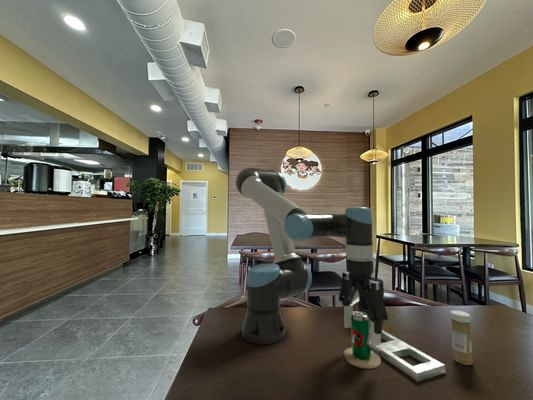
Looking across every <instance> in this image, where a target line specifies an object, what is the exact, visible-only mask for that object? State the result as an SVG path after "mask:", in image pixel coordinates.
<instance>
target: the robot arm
mask: <svg viewBox="0 0 533 400" xmlns="http://www.w3.org/2000/svg"><path fill="white" fill-rule="evenodd" d="M286 181H287V180H286V178H285V177H284V174H282V173H281V172H279V171H276V170H275V169H274V170H273V169H264V168H256V167H247V168H244V169H242V170H241V171H240V172H239V173H238V174H237V176H236V179H235V187H236V190H237V192H238V193H239V194H240V195H241V196H243V197H244V198H246V199H248V200H249V199H250V200H252V201H253V202H254V203H256V204H257V205H259V207H260V208H261V209H263V213H264V216H265V222H266V226H267V230H268V233H269V238H270V242H271V247H272V250H273V254H274V260H273V262H272V263H271V262H270V263H268V262H267V263H260V264H256V265H253V266H252V267H250V269H249V270H248V271H247V275H246V292H247V293H246V297H247V298H246V314H245V316H244V320H243V323H242V326H241V337H242V338H243V339H244V340H245V341H247V342H249V343H252V344H256V345H270V344H275V343H277V342H279V341H281V340H283V339H284V338H285V335H286V326H285V323H284V320H283V317H282V314H281V306H280V305H281V300H284V299H288V298H291V297H295V296H300V295H302V294H304V293H306V292H307V291H309V289H310V288H311V285H312V281H313V276H312V275H313V274H312V272H311V269H310V267H309V266H308V265H307V264H306V263H304V262H303V261H302V258H301V256H300V255H298V254H297V252H296V250H295V245H294V242H293V240H299V241H304V240H308V239H309V240H310V239H311V240H312V239H321V238H323V239H324V238H342V239H343V238H344V239H345V258H347V259H346V260H345V261H346V271H345V272H342V273H341V276H342V277H341V278H342V279H341V284H340V290H339V294H338V300H339V302H341V303H342V305H343V315H344V316H343V317H344V318H343V319H344V322H343V323H344V328H345V329H350V328H351V315H352V312H354V308H353V307H354V306H353V303H352V302H353V300H354V298H355V295H356V293H357V292H358V291H359V292H361V294H362V296H364V298H365V301H366V303H367V306H368V309H369V311H370V314H371V316H372V319H373V320H370V322H369V327H370V329H371V338H370V339H371V345H372V346H376V345H380V344H381V343H382V341H381V340H382V338H381V333H382V330H383V328H382V327H383V322H387V321H389V316H388V313H387V312H388V311H387V308H386V305H385V301H384V296H382V292H381V283H380V282H374V281H372V278H373V277H372V275H373V274H374V261H373V260H372V259H373V258H374V251H373V250H374V245H373V222H374V221H373V214H372V209H371V208H369V207H366V206H365V207H364V206H362V207H359V206H358V207H357V206H355V207H354V206H353V207H347V208H345V212H344V213H342V214H341V213H309V212H307V211H305V210H303V209H302V208H301V207H299V205H296V204H295V203H293V202H292V201H291V200H289V199H287V198H286V197H285V193H286V187H287V182H286ZM368 290H369V292H367V291H368ZM376 315H377V316H376Z"/></svg>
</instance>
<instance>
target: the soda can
mask: <svg viewBox="0 0 533 400" xmlns="http://www.w3.org/2000/svg"><path fill="white" fill-rule="evenodd" d="M350 328H351V347H352V353H353V355H354V356H355V357H356V358H358V359H361V360H367V359H369V358H370V357H371V351H372V350H371V347H370V339H371V338H370V322H369V318H368V316H367V313H365V312H362V311H359V310H355V311H354V310H353V312H352V315H351V327H350Z"/></svg>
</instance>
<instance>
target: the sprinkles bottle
mask: <svg viewBox="0 0 533 400" xmlns="http://www.w3.org/2000/svg"><path fill="white" fill-rule="evenodd" d="M450 318H451V319H450V320H451V335H452V336H451V343H452V358H453V360H454V361H455V362H456V363H458V364H461V365H466V366H472V365H473V364H474V361H473V349H472V348H473V346H472V345H473V343H472V335H471V333H472V332H471V322H472V321H471V315H470V314H469V313H468V312H466V311H463V310H456V309H455V310H451V311H450Z"/></svg>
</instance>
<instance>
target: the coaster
mask: <svg viewBox="0 0 533 400" xmlns="http://www.w3.org/2000/svg"><path fill="white" fill-rule="evenodd" d="M343 357H344V360H345V361H346V362H347V363H349V364H350V365H352V366H353V367H354V366H355V367H357V368H360V369H365V370H367V369H368V370H369V369H371V370H372V369H376V368H378V367H380V366H381V363H382V362H381V361H382V359H381V356H380V355H378V354H377V353H376V352H374V351H373V350H371V357H370V358H369V359H367V360H361V359H358V358H356V357H355V356H354V355H353V353H352V346H351V347H347V348H346V349H345V350H344V351H343Z"/></svg>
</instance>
